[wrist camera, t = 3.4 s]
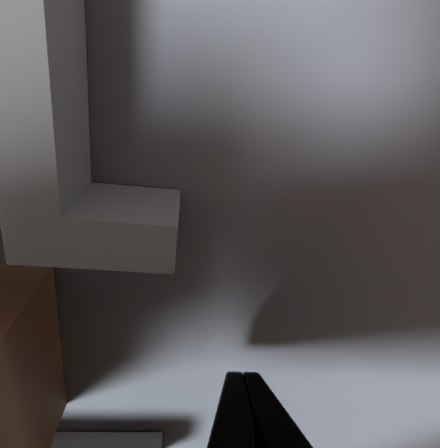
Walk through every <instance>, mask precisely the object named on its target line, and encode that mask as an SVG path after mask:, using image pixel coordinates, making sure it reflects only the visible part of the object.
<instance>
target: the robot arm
mask: <svg viewBox="0 0 440 448" xmlns="http://www.w3.org/2000/svg"><path fill="white" fill-rule="evenodd" d="M207 448H313V447H312V445H311V444H310V443H309V441H308V440H307V439H306V437H305V436H304V434H303V433H302V432H301V430H300V429H299V428H298V426H297V425H296V424H295V422H294V421H293V419H292V418H291V417H290V415H289V414H288V413H287V411H286V410H285V408H284V407H283V406H282V404H281V403H280V402H279V400H278V399H277V397H276V396H275V395H274V393H273V392H272V391H271V389H270V388H269V386H268V385H267V384H266V382H265V381H264V380H263V378H262V377H261V376H260V374H259V373H257V372H244V373H243V374H242V373H241V372H227V374H226V377H225V381H224V385H223V388H222V392H221V396H220V400H219V404H218V408H217V411H216V415H215V419H214V423H213V427H212V430H211V434H210V438H209V442H208V446H207Z"/></svg>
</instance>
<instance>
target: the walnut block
mask: <svg viewBox="0 0 440 448" xmlns="http://www.w3.org/2000/svg"><path fill="white" fill-rule="evenodd" d="M66 404H67V401H66V391H65V380H64V370H63V359H62V349H61V338H60V327H59V317H58V306H57V296H56V285H55V274H54V267H39V266H21V265H6V262H3V261H0V448H50V447H51V444H52V442H53V439H54V436H55V434H56V431H57V428H58V426H59V423H60V420H61V417H62V415H63V412H64V409H65V407H66Z"/></svg>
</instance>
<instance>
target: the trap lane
mask: <svg viewBox="0 0 440 448" xmlns="http://www.w3.org/2000/svg"><path fill="white" fill-rule="evenodd" d="M180 196H181V190H174V189H163V188H151V187H140V186H128V185H117V184H105V183H93V182H91V158H90V132H89V105H88V78H87V52H86V25H85V0H0V227H1V234H2V240H3V246H4V252H5V259H6V265H21V266H39V267H56V268H73V269H91V270H108V271H126V272H143V273H160V274H174V273H175V260H176V248H177V235H178V223H179V209H180ZM162 436H163V432H56V434H55V436H54V439H53V442H52V444H51V447H50V448H162Z"/></svg>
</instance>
